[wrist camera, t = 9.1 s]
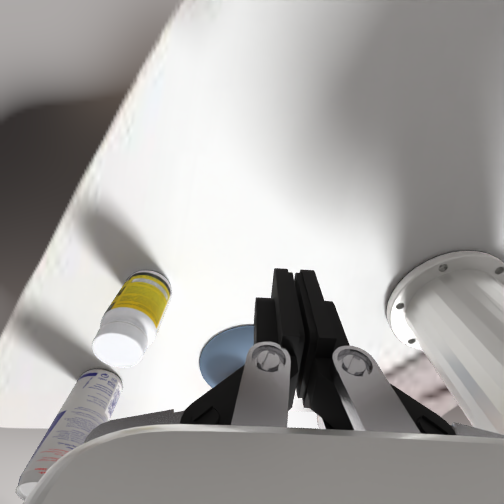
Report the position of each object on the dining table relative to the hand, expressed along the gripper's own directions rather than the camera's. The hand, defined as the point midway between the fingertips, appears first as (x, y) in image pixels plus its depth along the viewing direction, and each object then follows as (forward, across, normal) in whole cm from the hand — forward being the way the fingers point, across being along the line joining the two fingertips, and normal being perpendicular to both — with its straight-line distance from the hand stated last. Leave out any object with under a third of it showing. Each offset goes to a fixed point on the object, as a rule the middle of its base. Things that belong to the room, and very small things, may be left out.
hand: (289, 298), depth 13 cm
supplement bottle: (+15, +12, +11) cm, 22 cm away
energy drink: (+15, +19, +26) cm, 35 cm away
